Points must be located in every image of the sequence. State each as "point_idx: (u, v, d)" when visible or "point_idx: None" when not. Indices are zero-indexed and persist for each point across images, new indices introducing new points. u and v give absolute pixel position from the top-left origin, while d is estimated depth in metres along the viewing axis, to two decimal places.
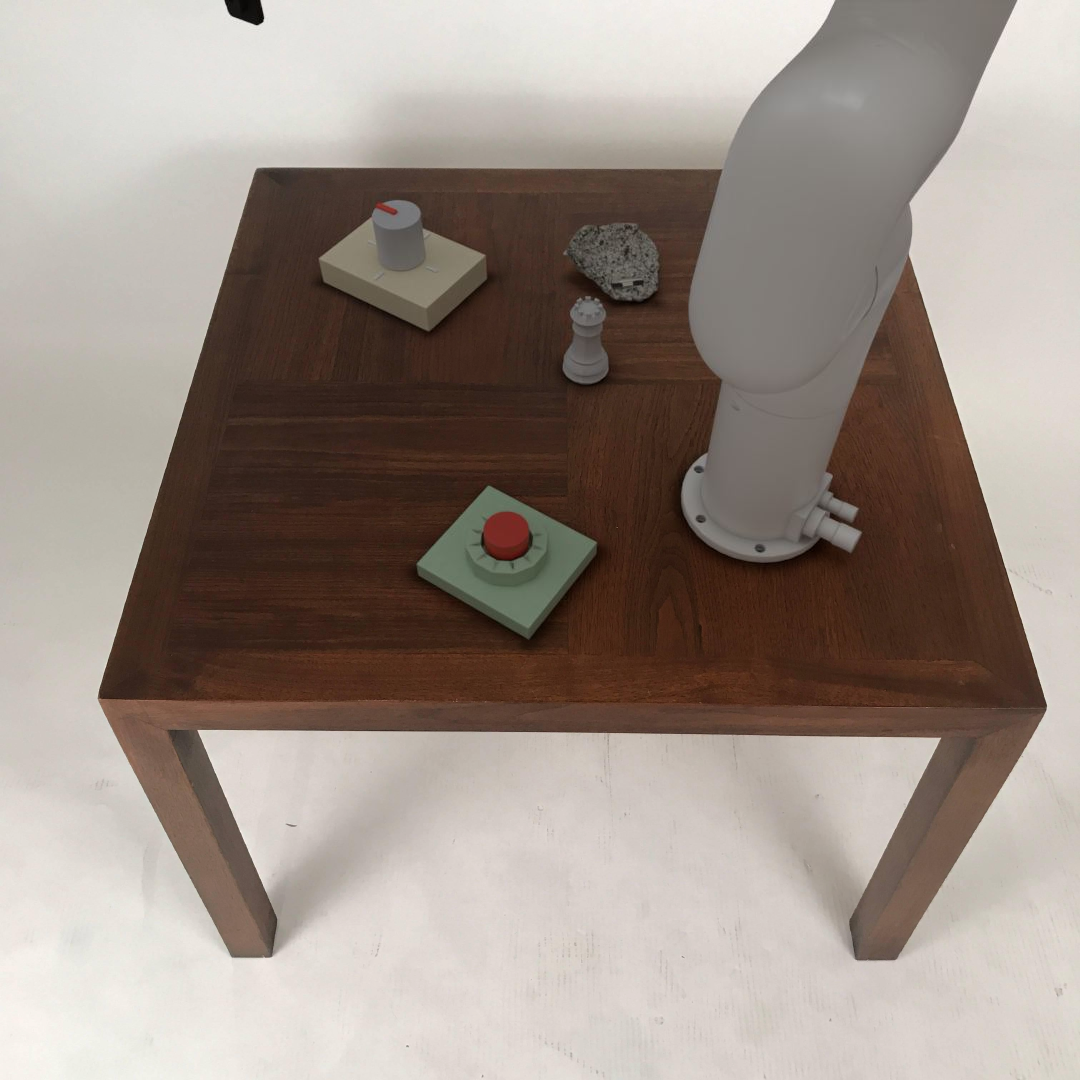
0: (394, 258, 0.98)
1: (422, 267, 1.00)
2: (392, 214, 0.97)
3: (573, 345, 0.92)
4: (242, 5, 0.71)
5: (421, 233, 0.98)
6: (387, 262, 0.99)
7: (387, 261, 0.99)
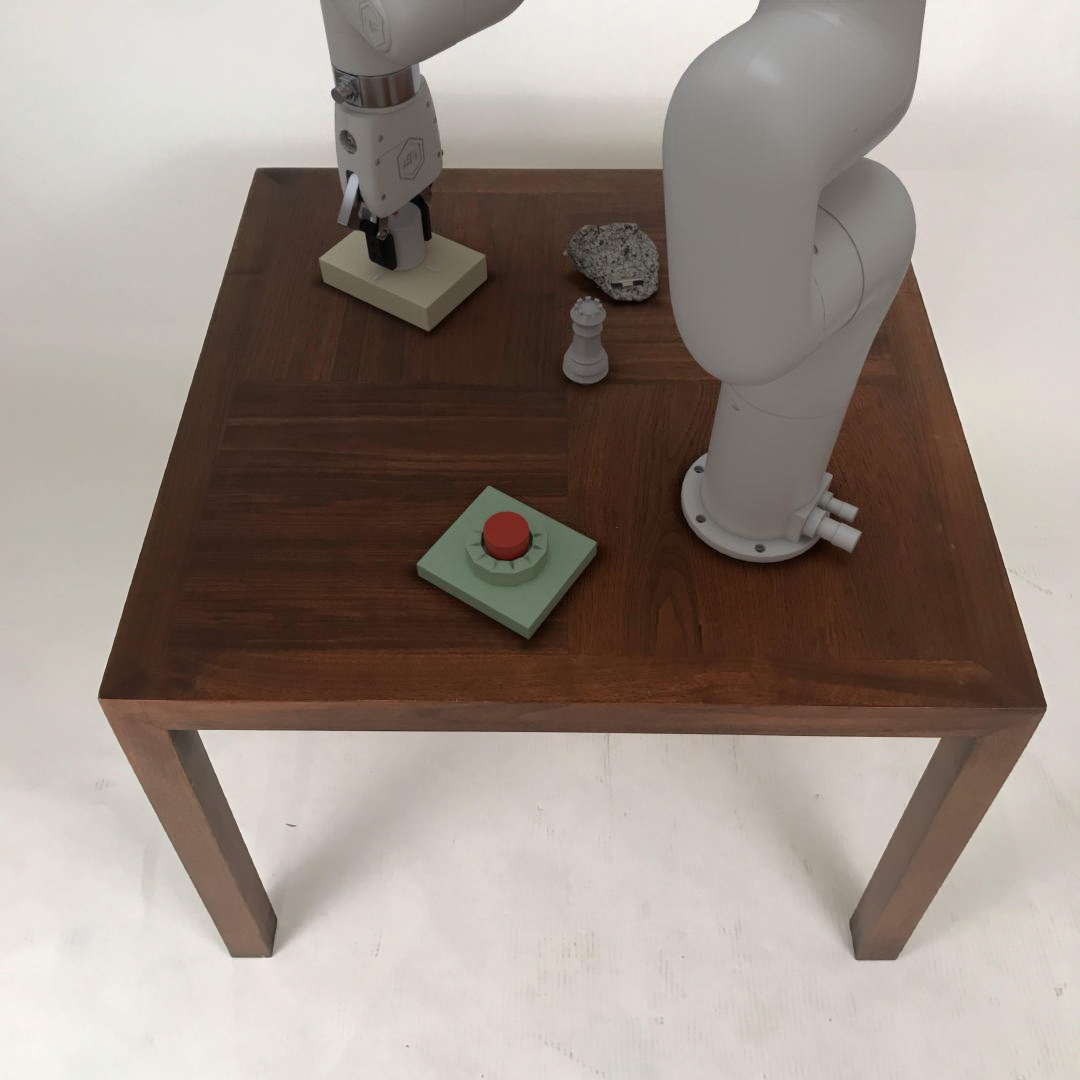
0: None
1: (422, 267, 1.00)
2: (392, 214, 0.97)
3: (573, 345, 0.92)
4: (382, 259, 0.97)
5: (421, 233, 0.98)
6: None
7: None
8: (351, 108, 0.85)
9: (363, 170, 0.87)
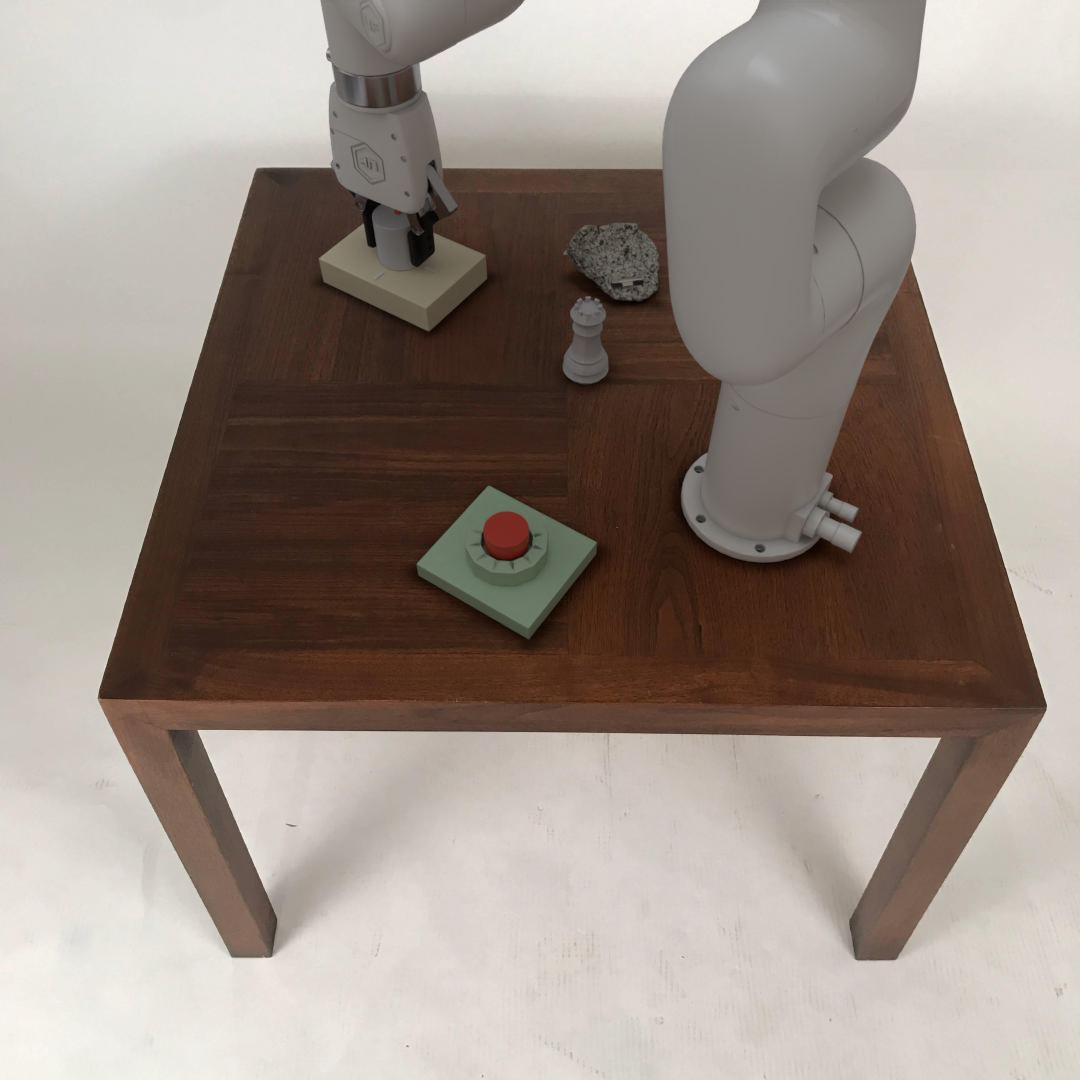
0: None
1: (422, 267, 1.00)
2: (395, 211, 0.97)
3: (573, 345, 0.92)
4: None
5: (391, 244, 0.97)
6: None
7: None
8: None
9: None
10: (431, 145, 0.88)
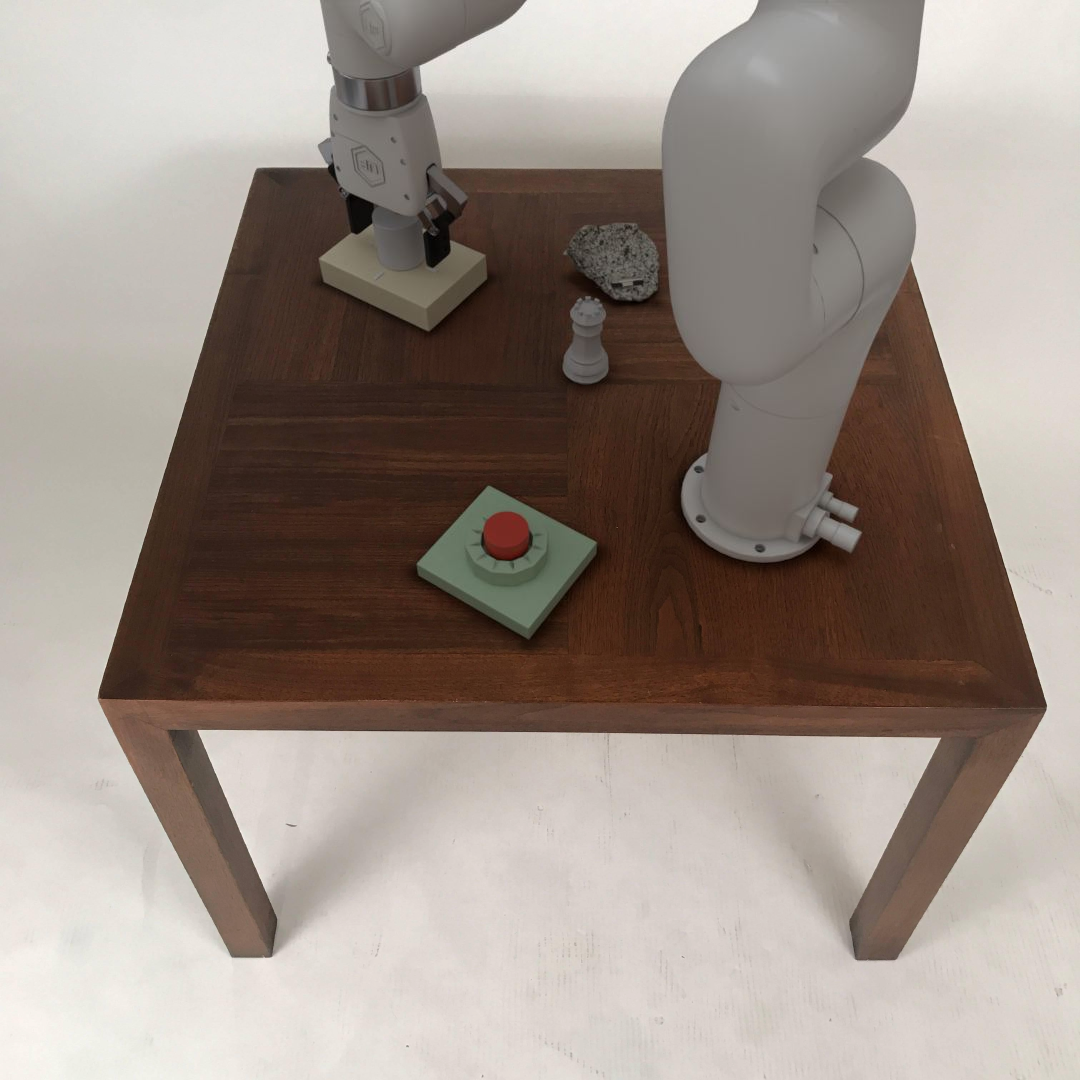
0: None
1: (422, 267, 1.00)
2: None
3: (573, 345, 0.92)
4: None
5: (391, 244, 0.97)
6: None
7: None
8: None
9: None
10: (431, 148, 0.89)
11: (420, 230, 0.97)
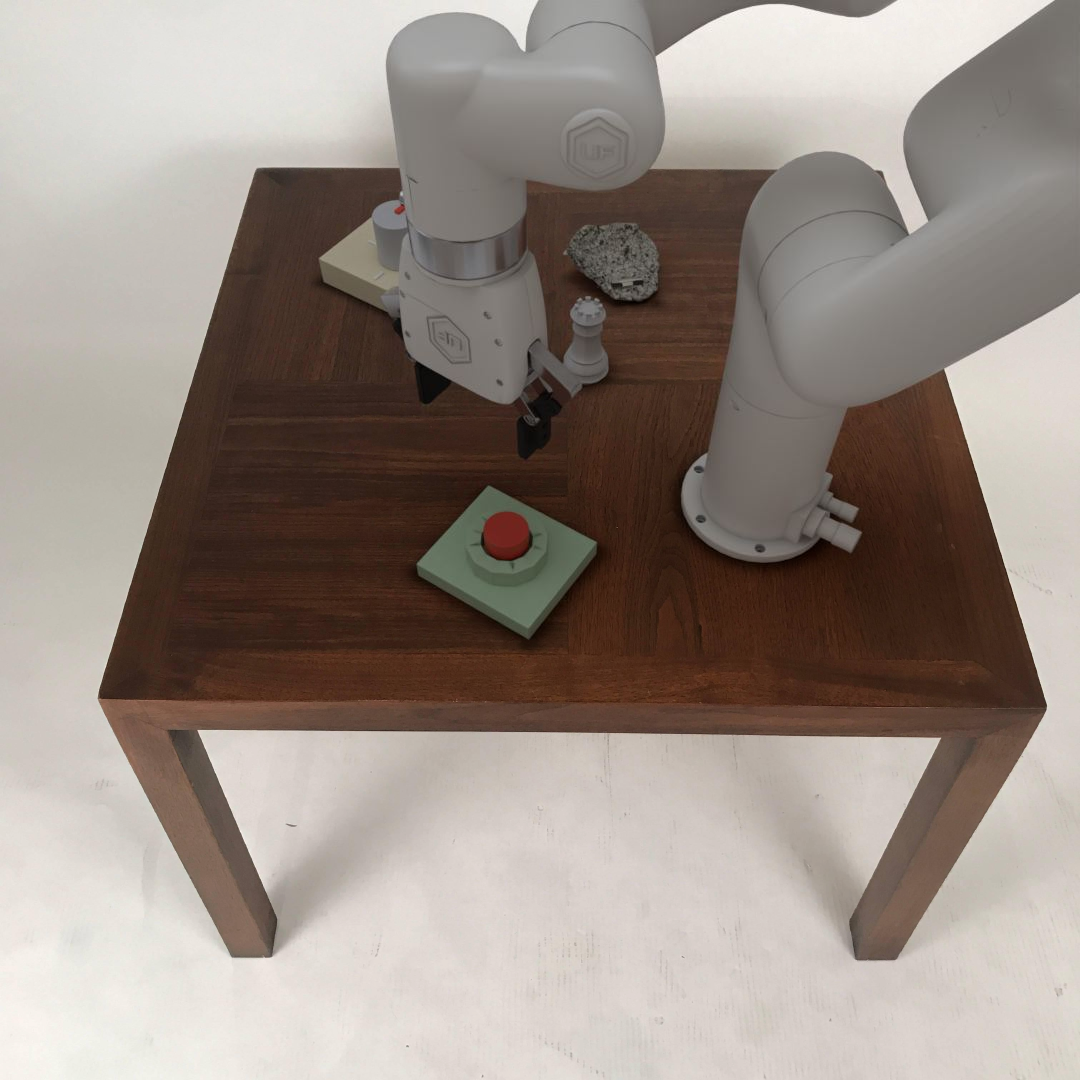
0: None
1: None
2: (395, 211, 0.97)
3: (573, 345, 0.92)
4: None
5: (391, 244, 0.97)
6: None
7: None
8: None
9: None
10: (536, 321, 0.65)
11: None
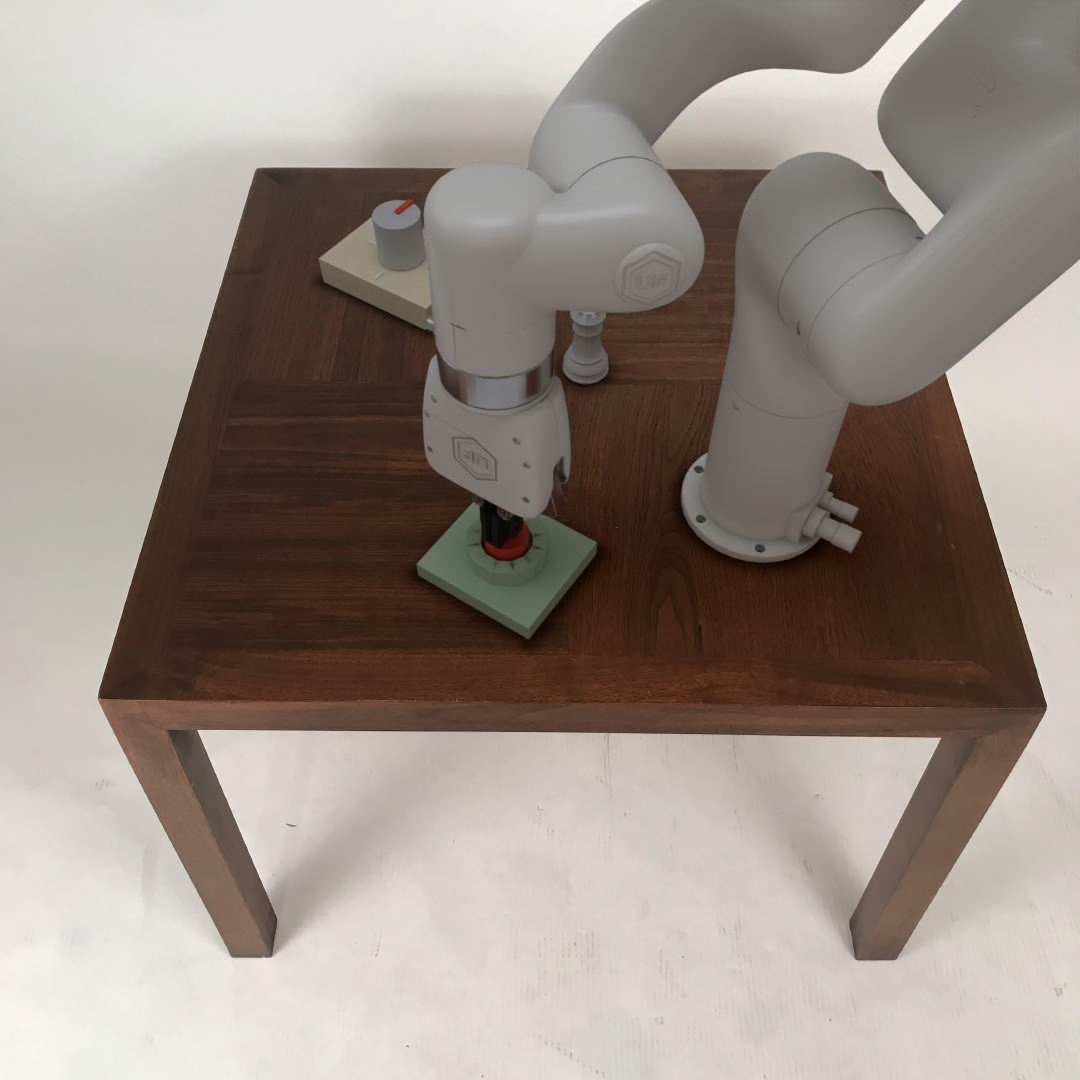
0: None
1: (422, 267, 1.00)
2: (395, 211, 0.97)
3: (573, 345, 0.92)
4: None
5: (391, 244, 0.97)
6: None
7: None
8: None
9: None
10: (562, 441, 0.66)
11: (420, 230, 0.97)
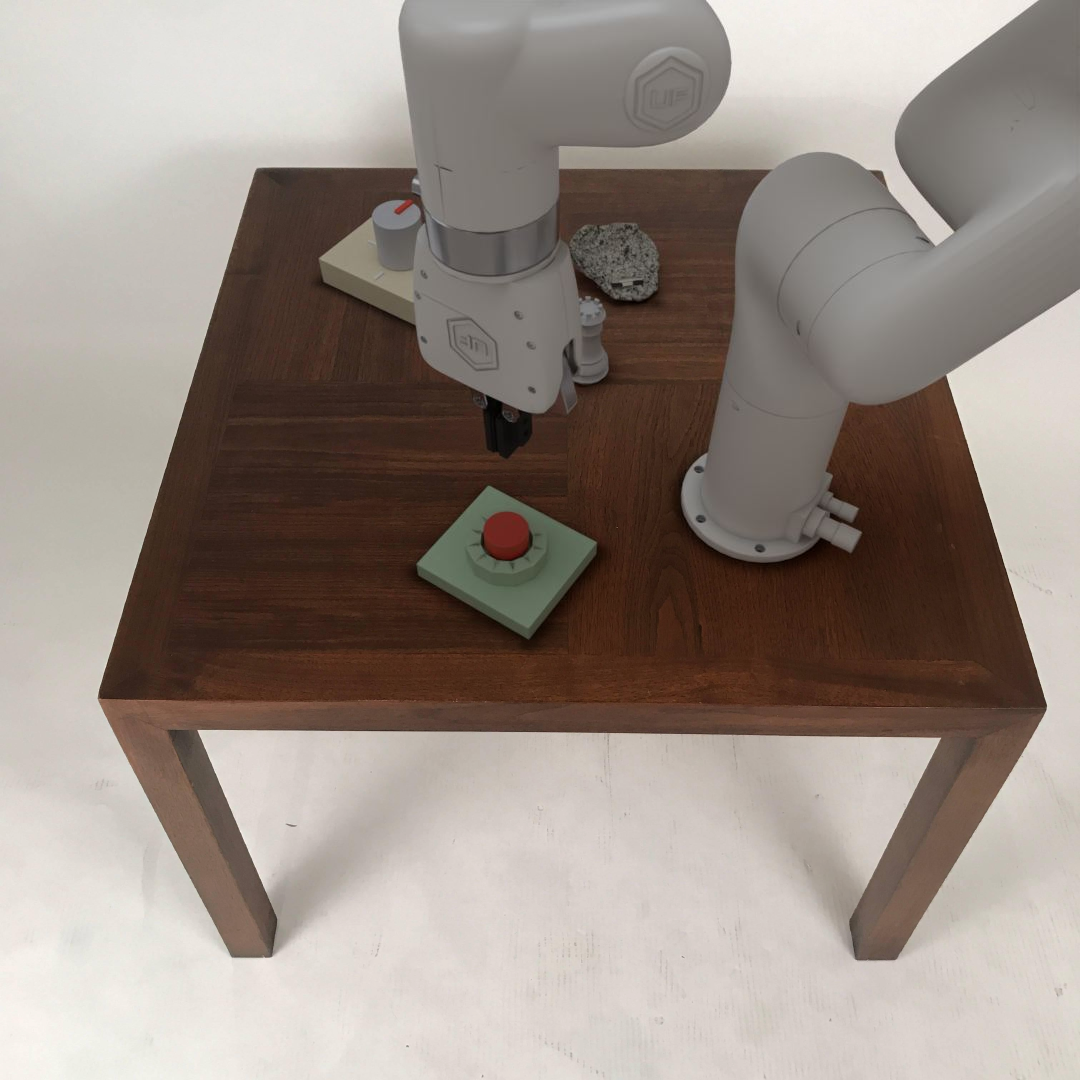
0: None
1: None
2: (395, 211, 0.97)
3: None
4: None
5: (391, 244, 0.97)
6: None
7: None
8: None
9: None
10: (571, 319, 0.57)
11: None
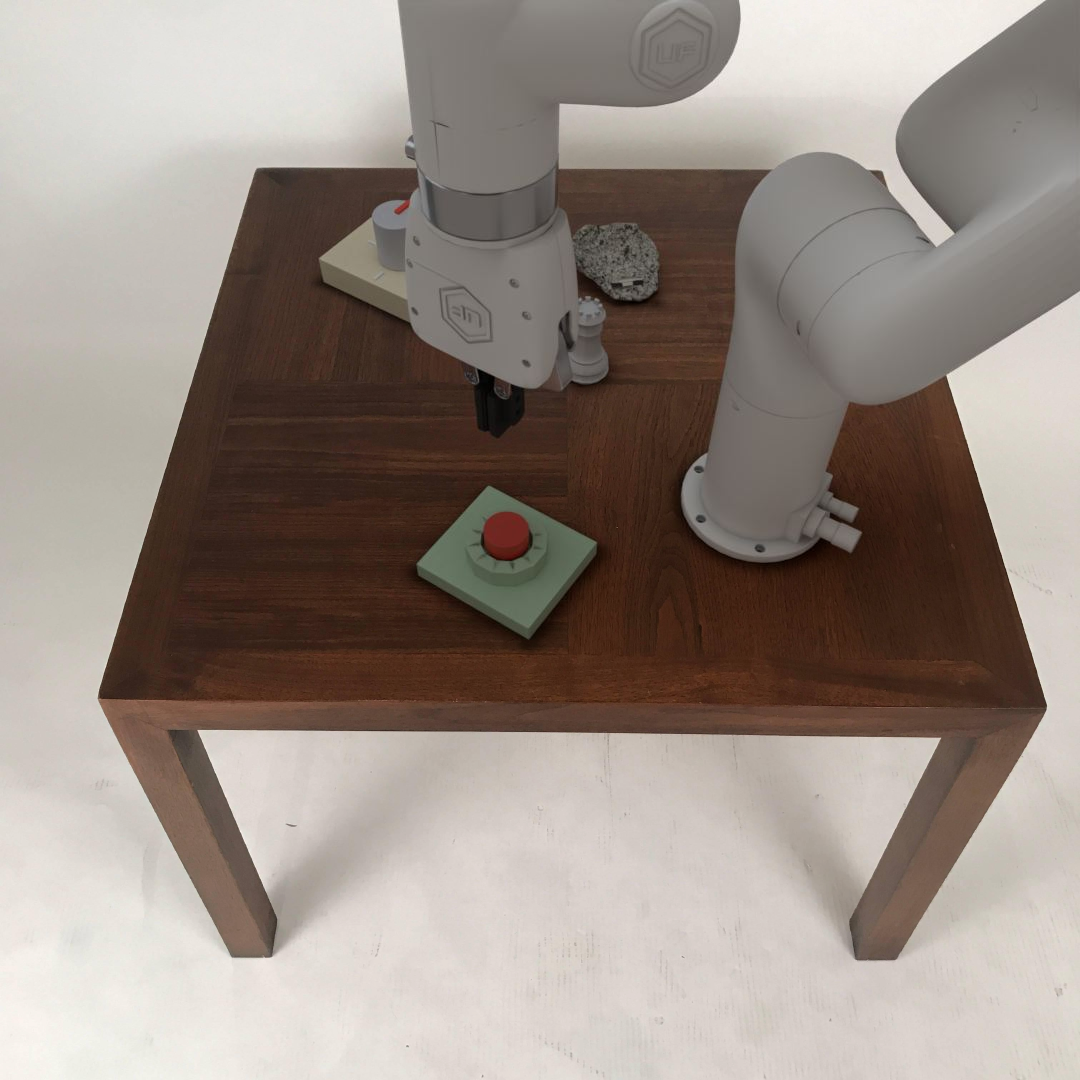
0: None
1: None
2: (395, 211, 0.97)
3: None
4: None
5: (391, 244, 0.97)
6: None
7: None
8: None
9: None
10: (568, 290, 0.56)
11: None
